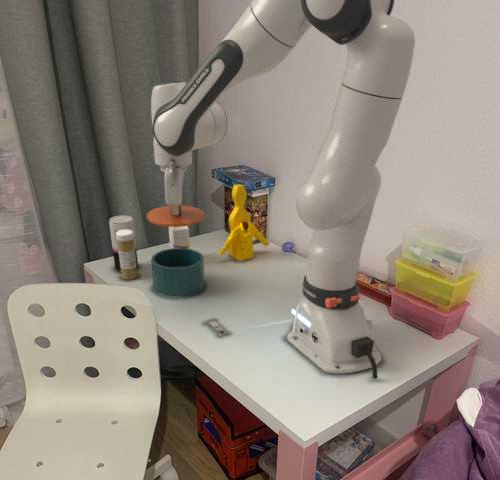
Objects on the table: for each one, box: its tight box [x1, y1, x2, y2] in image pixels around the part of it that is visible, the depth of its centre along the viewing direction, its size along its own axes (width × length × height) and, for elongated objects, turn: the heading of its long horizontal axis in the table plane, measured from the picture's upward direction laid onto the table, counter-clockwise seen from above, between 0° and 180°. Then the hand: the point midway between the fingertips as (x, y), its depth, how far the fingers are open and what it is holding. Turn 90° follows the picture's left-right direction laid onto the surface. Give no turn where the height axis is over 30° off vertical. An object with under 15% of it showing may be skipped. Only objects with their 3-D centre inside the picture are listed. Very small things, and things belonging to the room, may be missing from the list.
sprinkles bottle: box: [116, 230, 138, 281], centre depth 135 cm, size 5×5×14 cm
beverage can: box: [108, 214, 139, 273], centre depth 139 cm, size 6×6×15 cm
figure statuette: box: [218, 183, 271, 261], centre depth 146 cm, size 18×8×22 cm, turn 121°
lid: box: [146, 204, 206, 228], centre depth 123 cm, size 15×15×5 cm
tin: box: [150, 248, 205, 298], centre depth 131 cm, size 14×14×8 cm
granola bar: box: [209, 320, 229, 337], centre depth 115 cm, size 7×2×1 cm, turn 34°
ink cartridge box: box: [168, 226, 191, 249], centre depth 144 cm, size 9×5×15 cm, turn 17°
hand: (176, 211), depth 123 cm, fingers closed on lid, 2 cm apart
